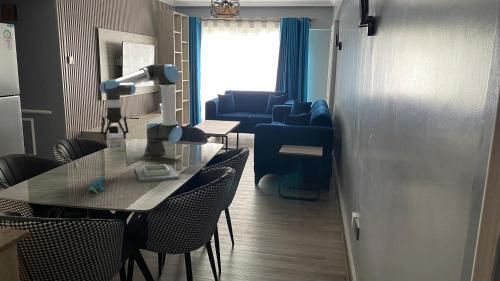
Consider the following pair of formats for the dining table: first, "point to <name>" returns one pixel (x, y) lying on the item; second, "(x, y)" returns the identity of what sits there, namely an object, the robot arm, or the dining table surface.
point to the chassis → (156, 173)
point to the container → (115, 138)
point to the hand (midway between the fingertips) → (115, 145)
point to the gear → (97, 185)
